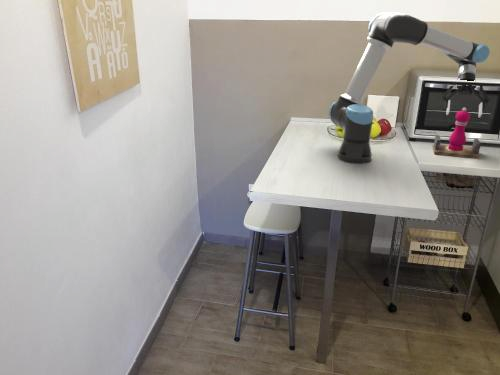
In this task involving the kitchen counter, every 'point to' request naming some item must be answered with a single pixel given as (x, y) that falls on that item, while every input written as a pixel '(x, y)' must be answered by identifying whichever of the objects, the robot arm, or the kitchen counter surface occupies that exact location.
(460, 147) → the pepper mill
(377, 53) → the robot arm
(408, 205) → the kitchen counter surface
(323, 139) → the kitchen counter surface
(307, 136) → the kitchen counter surface
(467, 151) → the level stand
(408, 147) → the kitchen counter surface
